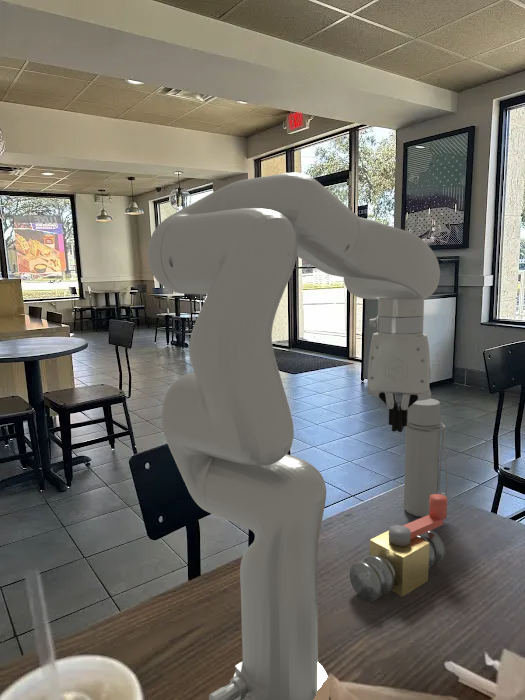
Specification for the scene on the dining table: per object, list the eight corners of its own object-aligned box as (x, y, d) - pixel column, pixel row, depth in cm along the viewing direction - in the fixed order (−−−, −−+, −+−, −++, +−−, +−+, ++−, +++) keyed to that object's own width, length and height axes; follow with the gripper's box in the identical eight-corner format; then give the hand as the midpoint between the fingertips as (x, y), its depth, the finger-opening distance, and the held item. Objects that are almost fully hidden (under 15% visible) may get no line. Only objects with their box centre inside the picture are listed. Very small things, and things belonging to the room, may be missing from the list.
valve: (379, 610, 80) (380, 569, 79) (347, 589, 85) (347, 550, 84) (446, 569, 90) (448, 532, 89) (414, 552, 96) (415, 517, 95)
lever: (400, 548, 84) (401, 520, 84) (384, 538, 87) (384, 511, 87) (451, 525, 92) (452, 499, 91) (434, 517, 94) (435, 491, 94)
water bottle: (399, 515, 110) (401, 403, 106) (407, 500, 117) (409, 395, 113) (443, 524, 106) (448, 408, 102) (449, 508, 113) (453, 399, 109)
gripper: (351, 327, 86) (351, 431, 89) (445, 330, 80) (441, 441, 83) (361, 322, 93) (360, 419, 96) (448, 324, 87) (444, 427, 90)
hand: (397, 429), depth 90 cm, fingers closed
